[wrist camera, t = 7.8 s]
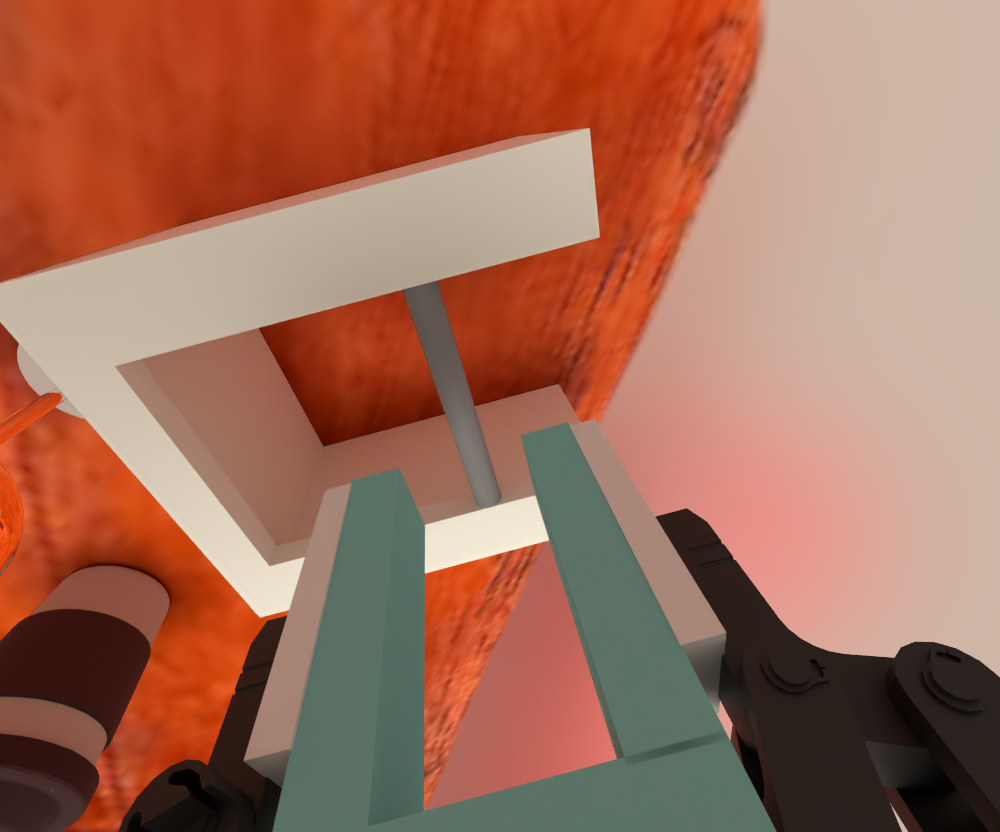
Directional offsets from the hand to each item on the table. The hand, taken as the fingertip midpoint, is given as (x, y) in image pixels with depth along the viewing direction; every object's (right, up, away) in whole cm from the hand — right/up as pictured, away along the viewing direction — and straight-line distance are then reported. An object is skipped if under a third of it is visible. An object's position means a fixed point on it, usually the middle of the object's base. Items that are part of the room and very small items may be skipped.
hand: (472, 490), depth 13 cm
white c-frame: (-5, +8, +14) cm, 17 cm away
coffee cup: (-29, -12, +22) cm, 38 cm away
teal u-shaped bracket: (0, 0, 0) cm, 0 cm away
